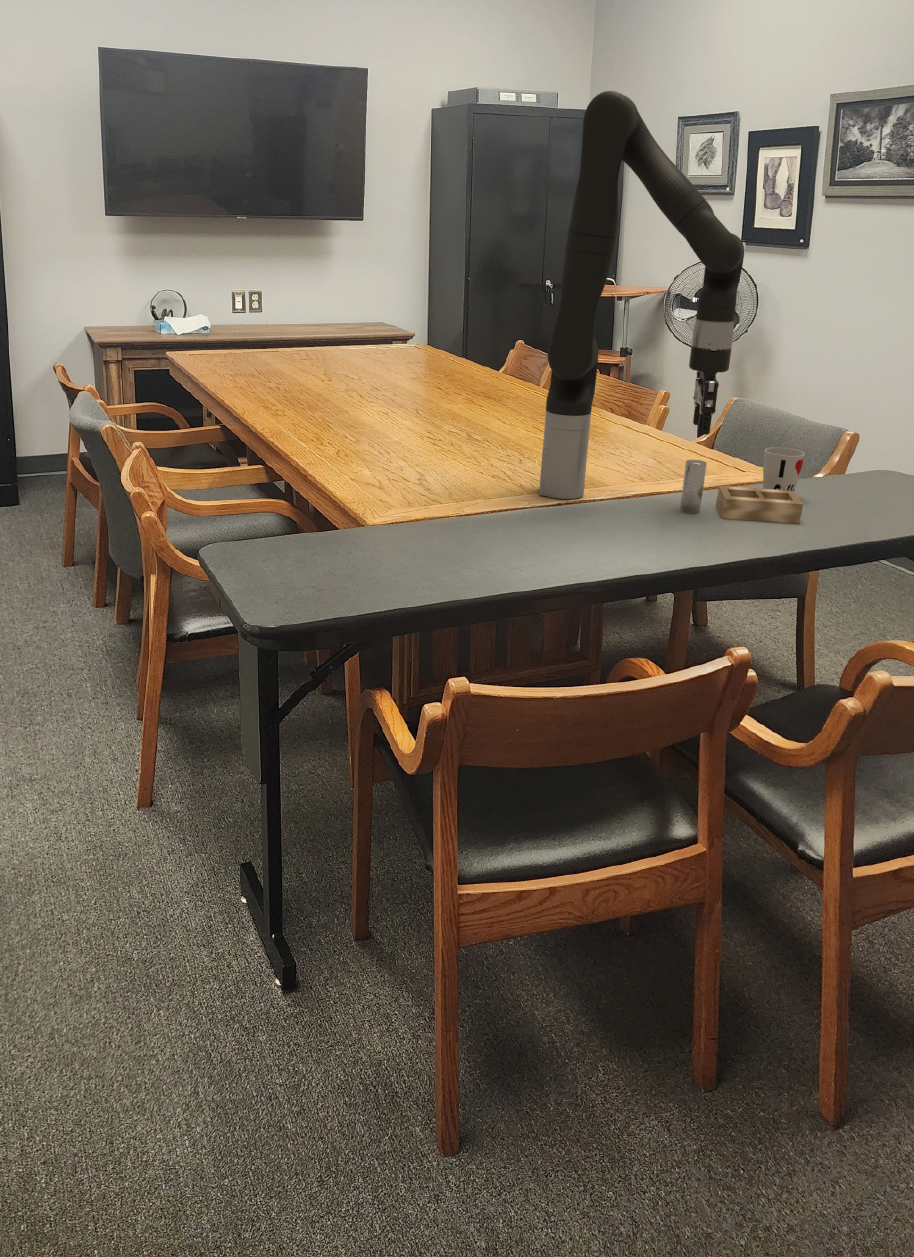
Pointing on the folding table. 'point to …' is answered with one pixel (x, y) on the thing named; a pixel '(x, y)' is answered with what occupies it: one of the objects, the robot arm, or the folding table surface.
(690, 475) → the grey rounded cylinder
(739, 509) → the frame
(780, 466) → the cup
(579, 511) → the folding table surface
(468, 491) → the folding table surface
